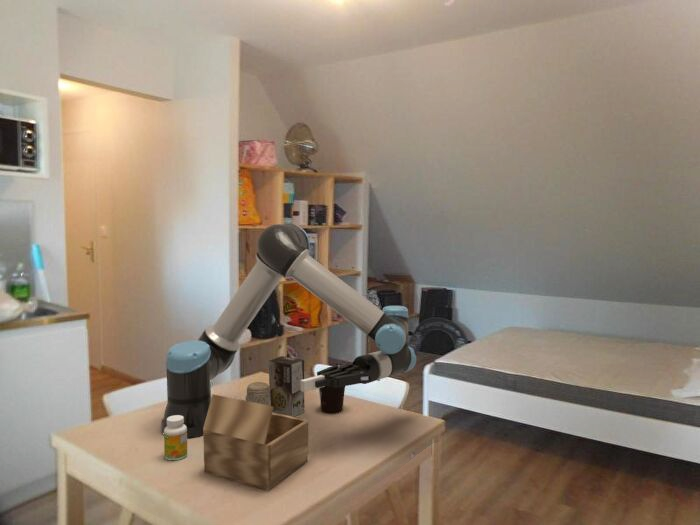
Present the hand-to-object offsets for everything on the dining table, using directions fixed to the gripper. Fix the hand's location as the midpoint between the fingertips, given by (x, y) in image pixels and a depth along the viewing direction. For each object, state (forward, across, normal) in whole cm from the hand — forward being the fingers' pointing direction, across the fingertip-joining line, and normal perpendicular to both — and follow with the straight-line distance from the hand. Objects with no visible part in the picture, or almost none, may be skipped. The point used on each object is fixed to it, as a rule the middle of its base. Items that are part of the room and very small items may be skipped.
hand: (302, 386), depth 129 cm
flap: (+17, +1, -4) cm, 18 cm away
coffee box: (-15, +28, -18) cm, 36 cm away
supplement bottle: (+23, +22, -18) cm, 36 cm away
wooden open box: (+11, +3, -18) cm, 21 cm away
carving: (-3, +24, -18) cm, 30 cm away
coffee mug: (-27, +20, -18) cm, 39 cm away
